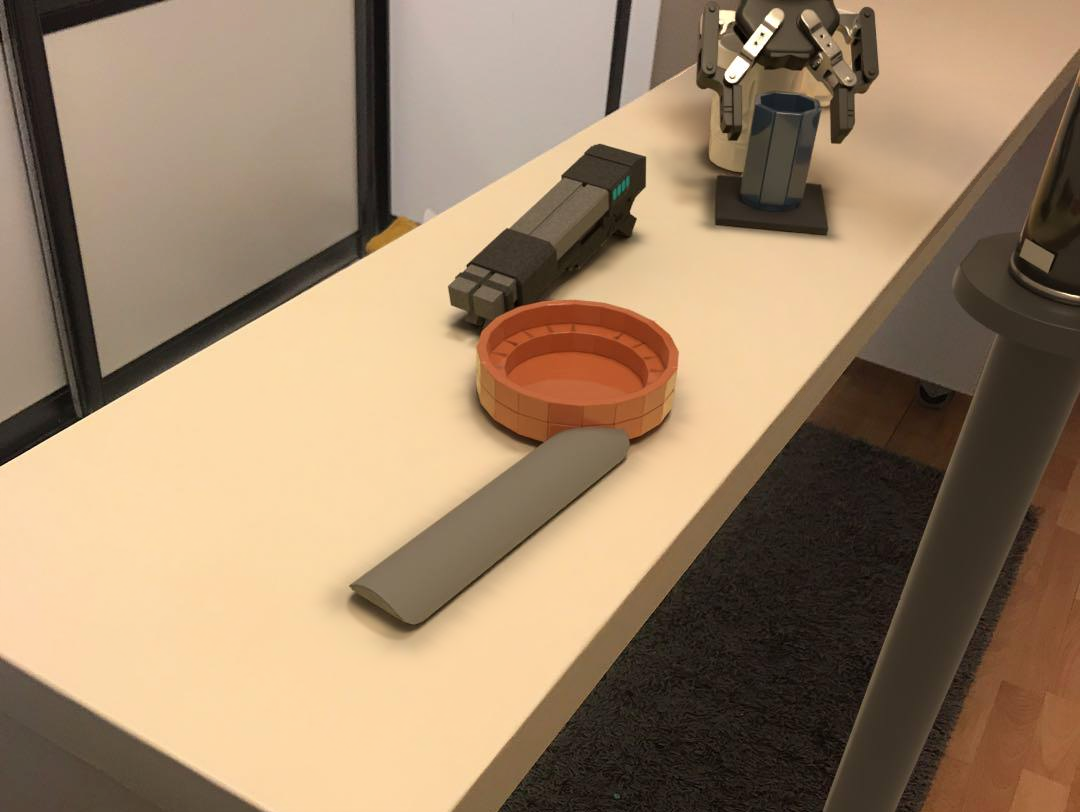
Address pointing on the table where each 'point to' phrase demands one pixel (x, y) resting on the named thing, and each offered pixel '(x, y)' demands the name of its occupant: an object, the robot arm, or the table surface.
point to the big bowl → (575, 369)
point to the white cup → (744, 102)
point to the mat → (799, 219)
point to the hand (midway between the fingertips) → (787, 138)
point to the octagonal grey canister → (779, 150)
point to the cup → (809, 82)
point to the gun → (553, 234)
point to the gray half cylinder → (490, 523)
